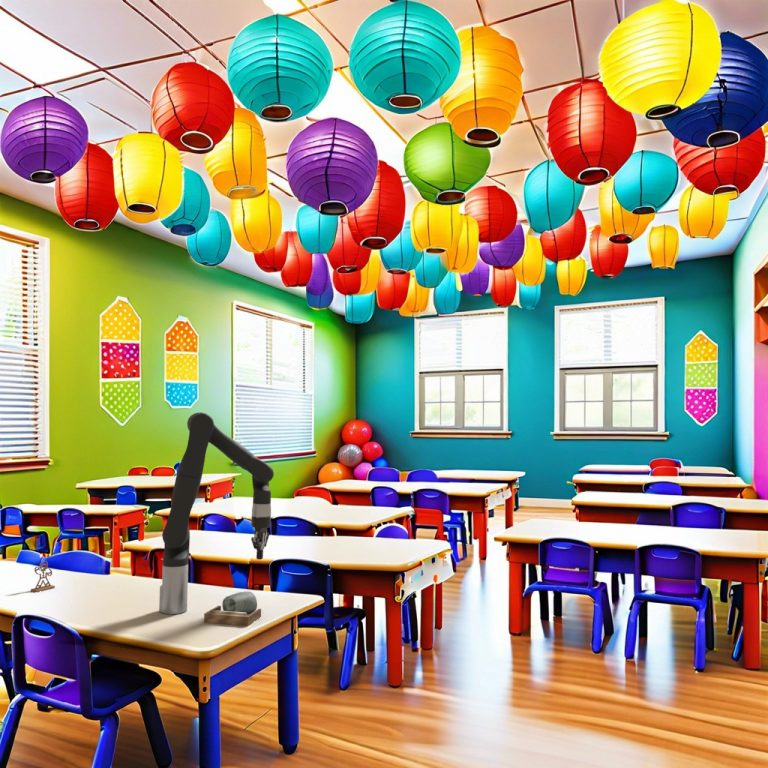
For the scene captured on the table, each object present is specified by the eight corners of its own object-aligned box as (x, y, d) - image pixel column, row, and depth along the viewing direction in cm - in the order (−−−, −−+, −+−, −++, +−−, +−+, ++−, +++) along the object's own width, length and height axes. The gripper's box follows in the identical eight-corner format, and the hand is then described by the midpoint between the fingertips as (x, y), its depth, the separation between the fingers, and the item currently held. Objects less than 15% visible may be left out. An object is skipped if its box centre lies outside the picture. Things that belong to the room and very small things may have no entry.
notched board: (203, 622, 242) (204, 611, 242) (218, 613, 253) (218, 603, 253) (248, 625, 238) (248, 615, 239) (261, 617, 249) (261, 607, 249)
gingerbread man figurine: (49, 587, 291) (50, 558, 292) (55, 588, 290) (56, 559, 290) (30, 591, 283) (31, 562, 284) (36, 592, 282) (37, 563, 282)
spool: (231, 613, 242) (230, 585, 248) (217, 620, 248) (216, 593, 253) (263, 615, 251) (262, 588, 256) (248, 623, 256) (247, 596, 262)
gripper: (259, 512, 277) (257, 555, 276) (245, 516, 265) (243, 561, 264) (276, 513, 276) (274, 556, 275) (263, 517, 263) (261, 563, 262)
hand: (259, 559), depth 269 cm, fingers closed
